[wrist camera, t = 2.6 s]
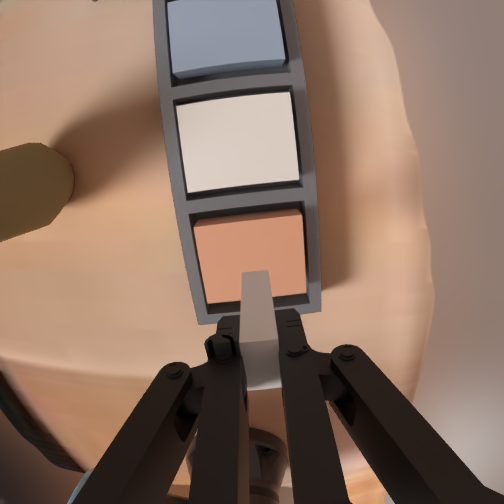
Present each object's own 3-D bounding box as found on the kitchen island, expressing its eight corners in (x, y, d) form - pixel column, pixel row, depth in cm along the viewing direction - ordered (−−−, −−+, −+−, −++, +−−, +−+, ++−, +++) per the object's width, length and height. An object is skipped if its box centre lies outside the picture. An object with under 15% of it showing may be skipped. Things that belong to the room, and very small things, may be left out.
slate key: (281, 66, 21) (285, 58, 18) (179, 79, 21) (172, 73, 18) (271, 1, 18) (273, -12, 16) (173, 13, 19) (167, 2, 16)
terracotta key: (301, 280, 27) (306, 292, 24) (210, 290, 27) (207, 303, 25) (296, 208, 24) (301, 214, 22) (198, 219, 25) (193, 227, 22)
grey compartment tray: (313, 293, 30) (321, 311, 27) (203, 305, 30) (198, 324, 27) (281, -12, 20) (286, -29, 16) (162, 3, 20) (152, -12, 17)
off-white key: (294, 176, 24) (299, 179, 21) (193, 188, 24) (187, 192, 22) (285, 97, 21) (289, 92, 19) (182, 109, 22) (176, 106, 19)
